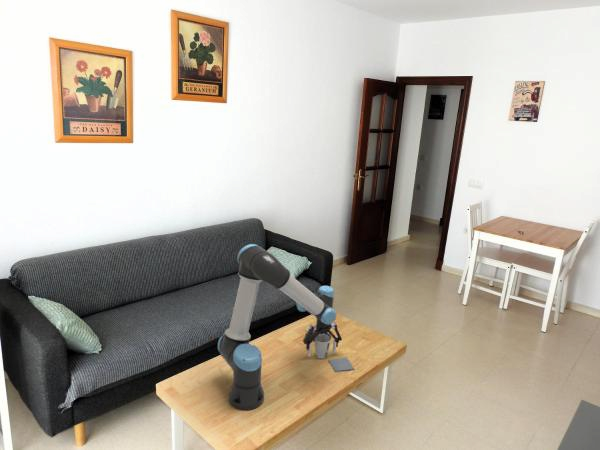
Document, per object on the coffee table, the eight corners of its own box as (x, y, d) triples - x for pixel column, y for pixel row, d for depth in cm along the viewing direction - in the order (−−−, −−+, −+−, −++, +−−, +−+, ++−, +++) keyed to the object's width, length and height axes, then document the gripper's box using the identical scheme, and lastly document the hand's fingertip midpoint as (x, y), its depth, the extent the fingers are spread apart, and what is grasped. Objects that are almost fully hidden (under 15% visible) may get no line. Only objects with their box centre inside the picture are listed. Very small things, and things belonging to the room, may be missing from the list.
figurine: (312, 324, 250) (333, 333, 240) (312, 330, 251) (333, 340, 241) (302, 329, 243) (323, 339, 234) (302, 336, 244) (323, 346, 235)
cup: (328, 361, 221) (329, 343, 218) (312, 358, 222) (313, 341, 220) (330, 353, 229) (331, 335, 226) (314, 350, 230) (316, 333, 227)
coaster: (335, 372, 212) (335, 370, 212) (328, 360, 221) (328, 359, 221) (354, 370, 215) (354, 368, 215) (346, 358, 224) (346, 357, 224)
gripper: (302, 321, 213) (300, 360, 218) (350, 317, 220) (346, 355, 225) (298, 314, 220) (296, 352, 225) (344, 311, 227) (341, 347, 232)
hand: (321, 353), depth 225 cm, fingers open, 13 cm apart
